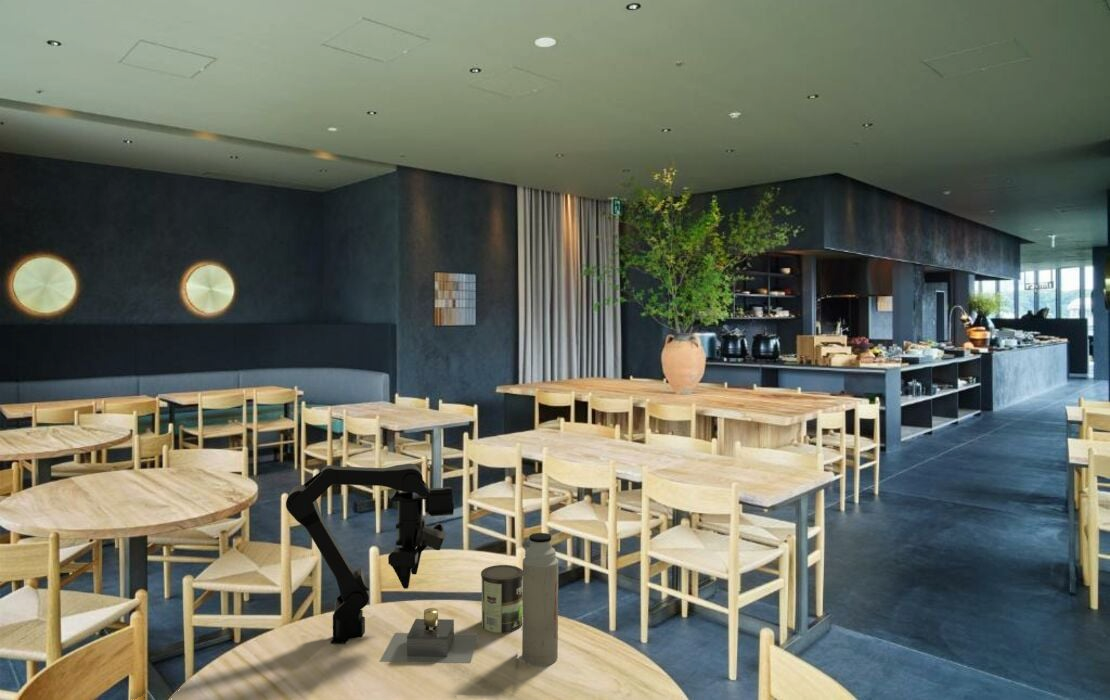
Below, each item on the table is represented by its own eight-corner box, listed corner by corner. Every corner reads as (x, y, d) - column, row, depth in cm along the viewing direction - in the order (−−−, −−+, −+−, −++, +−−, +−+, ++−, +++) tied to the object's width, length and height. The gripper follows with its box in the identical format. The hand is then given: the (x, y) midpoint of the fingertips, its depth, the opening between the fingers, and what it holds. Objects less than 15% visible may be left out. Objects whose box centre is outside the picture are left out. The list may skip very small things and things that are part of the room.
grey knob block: (407, 656, 159) (406, 636, 159) (415, 638, 168) (415, 618, 168) (447, 657, 159) (447, 636, 159) (453, 638, 168) (453, 619, 168)
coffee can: (524, 619, 182) (524, 564, 181) (521, 637, 171) (521, 579, 171) (483, 618, 182) (483, 564, 181) (478, 637, 171) (478, 579, 171)
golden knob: (421, 650, 162) (421, 614, 162) (424, 642, 166) (424, 607, 165) (437, 650, 162) (437, 614, 161) (440, 642, 166) (440, 607, 165)
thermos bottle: (560, 651, 164) (561, 531, 163) (553, 668, 157) (554, 542, 155) (526, 647, 166) (527, 528, 165) (518, 664, 158) (519, 539, 157)
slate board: (379, 665, 157) (379, 661, 157) (395, 637, 171) (395, 632, 171) (470, 667, 157) (470, 662, 157) (478, 638, 171) (478, 634, 171)
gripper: (436, 529, 163) (436, 596, 164) (449, 507, 182) (449, 567, 182) (387, 529, 163) (387, 596, 164) (406, 506, 182) (406, 567, 183)
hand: (410, 581), depth 173 cm, fingers open, 9 cm apart
